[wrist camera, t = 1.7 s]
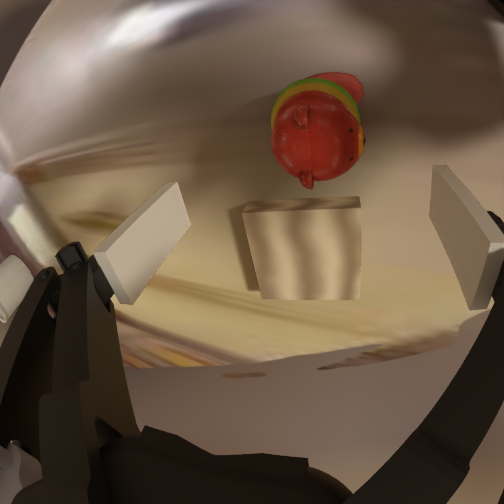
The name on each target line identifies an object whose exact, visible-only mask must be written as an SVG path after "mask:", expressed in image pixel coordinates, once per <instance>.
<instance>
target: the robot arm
mask: <svg viewBox="0 0 504 504" xmlns="http://www.w3.org/2000/svg"><path fill="white" fill-rule="evenodd" d="M487 1H488V2H489V3H490V4H491V5H492V6H493V7H494V8H495V9H496V10H497V11H498V12H499V13H500V14H502V15H503V16H504V0H487ZM429 217H430V219H431V221H432V223H433V225H434V227H435V229H436V231H437V233H438V235H439V237H440V239H441V241H442V243H443V246H444V248H445V250H446V252H447V255H448V257H449V259H450V261H451V264H452V266H453V269H454V271H455V273H456V276H457V278H458V281H459V283H460V286H461V289H462V291H463V294H464V297H465V299H466V302H467V305H468V308H469V310H479V309H487V307H488V304H489V302H490V299H491V297H493V299H494V302H495V303H494V305H493V307H492V309H491V311H490V314H489V316H488V318H487V320H486V322H485V324H484V326H483V328H482V330H481V332H480V334H479V335H478V337H477V339H476V341H475V343H474V345H473V346H472V348H471V350H470V352H469V354H468V355H467V357H466V359H465V360H464V362H463V364H462V365H461V367H460V369H459V370H458V372H457V374H456V375H455V377H454V378H453V380H452V381H451V383H450V384H449V386H448V387H447V389H446V390H445V392H444V393H443V395H442V396H441V397H440V399H439V400H438V402H437V403H436V405H435V406H434V407H433V409H432V410H431V411H430V413H429V414H428V415H427V416H426V418H425V419H424V420H423V422H422V423H421V424H420V425H419V427H418V428H417V429H416V430H415V431H414V432H413V433H412V434H411V435H410V436H409V437H408V439H407V440H406V441H405V442H404V443H403V444H402V445H401V447H400V448H399V449H398V450H397V451H396V452H395V453H394V454H393V455H392V457H391V458H390V459H389V460H388V461H387V462H386V463H385V464H384V465H383V466H382V467H381V468H380V469H379V470H378V471H377V472H376V473H375V474H374V475H373V476H372V477H371V478H370V479H369V480H368V481H367V482H366V483H365V484H364V485H363V486H362V487H360V489H358V490H357V491H356V492H355V493H354V494H353V493H352V492H351V491H350V490H349V489H348V488H347V487H346V486H345V485H344V484H342V483H341V482H340V481H339V480H337V479H336V478H334V477H332V476H330V475H329V474H327V473H325V472H323V471H320V470H318V469H315V468H312V467H309V463H308V458H300V457H290V456H280V455H272V454H264V453H259V454H258V453H257V454H242V455H213V454H210V453H208V452H207V451H205V450H203V449H201V448H199V447H197V446H196V445H194V444H192V443H190V442H188V441H187V440H185V439H183V438H181V437H180V436H178V435H175V434H171V433H168V432H165V431H161V430H158V429H155V428H152V427H149V426H146V425H145V426H144V428H143V430H142V432H140V430H139V428H138V426H137V424H136V420H135V416H134V413H133V408H132V404H131V400H130V396H129V391H128V387H127V382H126V377H125V373H124V367H123V362H122V356H121V351H120V345H119V339H118V332H117V325H116V318H115V310H114V304H113V302H112V301H111V299H110V298H111V297H112V296H113V294H115V295H116V297H117V299H118V301H119V302H120V304H129V305H133V304H134V303H135V301H136V300H137V298H138V297H139V295H140V294H141V292H142V291H143V290H144V288H145V287H146V285H147V284H148V283H149V281H150V280H151V278H152V277H153V276H154V274H155V273H156V271H157V270H158V269H159V267H160V266H161V264H162V263H163V262H164V260H165V259H166V258H167V256H168V255H169V254H170V252H171V251H172V249H173V248H174V247H175V245H176V244H177V243H178V241H179V240H180V239H181V237H182V236H183V235H184V234H185V232H186V231H187V230H188V228H189V227H190V226H191V223H190V220H189V217H188V214H187V211H186V208H185V205H184V201H183V198H182V195H181V192H180V189H179V185H178V182H171V183H166V184H164V185H163V186H162V187H161V188H160V189H159V190H158V191H156V192H155V193H154V194H153V195H152V196H151V197H150V198H149V199H147V200H146V201H145V202H144V203H143V204H142V205H141V206H140V207H139V208H138V209H137V210H135V211H134V212H133V213H132V214H131V215H130V216H129V217H128V218H127V219H126V220H125V221H124V222H123V223H122V224H121V225H120V226H119V227H118V228H116V229H115V230H114V231H113V232H112V233H111V234H110V235H109V236H108V237H107V238H106V239H105V240H104V241H103V242H102V243H101V244H100V245H99V246H98V247H97V248H96V249H95V251H94V252H93V255H92V256H91V257H90V258H89V259H88V258H87V256H86V254H85V252H84V250H83V248H82V246H81V244H80V242H73V243H70V244H68V245H66V246H65V247H63V248H62V249H61V250H60V251H59V252H58V253H57V254H56V256H55V257H56V259H57V261H58V262H59V264H60V266H61V268H62V270H63V271H64V274H60V275H58V274H57V272H56V270H55V268H54V267H48V268H46V269H45V268H44V269H43V270H41V271H40V272H39V273H38V275H37V276H36V277H35V278H34V280H33V282H32V283H31V285H30V287H29V289H28V291H27V293H26V295H25V296H24V298H23V300H22V302H21V304H20V306H19V308H18V310H17V312H16V314H15V316H14V319H13V321H12V322H11V325H10V327H9V329H8V331H7V334H6V336H5V338H4V340H3V342H2V345H1V347H0V504H446V503H447V502H448V501H449V499H450V498H451V497H452V496H453V494H454V493H455V492H456V490H457V489H458V488H459V486H460V485H461V483H462V482H463V480H464V479H465V477H466V476H467V473H468V471H469V469H470V465H469V463H470V460H471V458H472V457H473V455H474V453H475V452H476V450H477V448H478V447H479V445H480V444H481V442H482V440H483V438H484V437H485V435H486V433H487V431H488V430H489V428H490V426H491V424H492V423H493V421H494V419H495V417H496V415H497V413H498V411H499V409H500V407H501V405H502V403H503V401H504V222H503V221H502V220H501V219H500V217H498V216H497V215H495V214H494V213H493V212H491V211H486V210H485V209H484V208H483V206H482V205H481V204H480V203H479V201H478V200H477V199H476V198H475V197H474V195H473V194H472V193H471V192H470V191H469V189H468V188H467V187H466V186H465V185H464V184H463V183H462V181H461V180H460V179H459V178H458V177H457V176H456V175H455V174H454V173H453V172H452V170H451V169H450V168H449V167H448V166H447V165H433V167H432V187H431V200H430V211H429ZM47 306H49V308H50V309H51V311H52V312H53V313H54V315H55V316H54V318H52V317H51V316H50V315H49V313H48V309H47ZM10 441H12V442H13V443H11V442H10ZM498 504H504V490H503V492H502V495H501V497H500V500H499V502H498Z"/></svg>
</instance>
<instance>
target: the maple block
mask: <svg viewBox="0 0 504 504" xmlns="http://www.w3.org/2000/svg"><path fill="white" fill-rule="evenodd" d="M242 217H243V221H244V225H245V230H246V234H247V238H248V242H249V247H250V251H251V255H252V259H253V264H254V268H255V272H256V276H257V281H258V285H259V289H260V293H261V298H262V299H284V300H359V297H360V276H361V204H360V198H359V197H330V198H306V199H287V200H270V201H255V202H248V203H247V205H246V207H245V208H244V210H243V212H242Z"/></svg>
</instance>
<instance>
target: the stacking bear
mask: <svg viewBox="0 0 504 504" xmlns="http://www.w3.org/2000/svg"><path fill="white" fill-rule="evenodd" d="M362 89H363V85H362V83H360V82H358V79H357V78H356V77H355V76H353V75H351V74H346V73H338V72H329V73H321V74H316V75H313V76H310V77H307V78H305V79H302V80H299V81H296V82H294V83H292V84H290V85H289V86H287V87H286V88H285V89H284V90H283V91H282V92H281V93H280V94H279V96H278V97H277V99H276V101H275V103H274V105H273V108H272V112H271V130H272V134H271V146H272V151H273V154H274V156H275V158H276V160H277V162H278V163H279V164H280V166H281V167H282V168H283V169H284V170H286V171H287V172H288V173H289V174H291V175H293V176H294V177H297V178H299V179H300V182H301V184H302V185H303V186H304V187H305V188H307V189H313V185H314V184H313V183H314V181H324V180H330V179H333V178H335V177H338V176H340V175H342V174H343V173H345V172H347V171H348V170H349V169H350V168H351V167H352V166H353V165H354V164H355V163H356V162H357V160H358V159H359V157H360V155H361V153H362V151H363V148H364V145H365V137H364V133H363V130H362V127H361V117H360V112H359V109H358V106H357V105H358V104H359V102H360V101H361V99H362V97H363V94H364V93H363V91H362Z"/></svg>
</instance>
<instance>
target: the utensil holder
mask: <svg viewBox="0 0 504 504" xmlns="http://www.w3.org/2000/svg"><path fill="white" fill-rule="evenodd" d="M33 280H34V278H33V276H32V274H31V272H30V270H29V269H28V267H27V266H26V265H25V264H24V262H23V261H22V260H21V259H19V258H18V257H17V256H15V255H10V256H9V257H7V258H6V259H5V260H4V261H3V262H2V263H1V264H0V321H2V322H4V323H6V322H7V320H8V318H9V317H10V315H11V314H12V313H13V311H14V310H15V309H16V308H17V307H18V305H19V304H20V303H21V302H22V300H23V298H24V296H25V295H26V293H27V291H28V289H29V287H30V285H31V283H32V282H33Z"/></svg>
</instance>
